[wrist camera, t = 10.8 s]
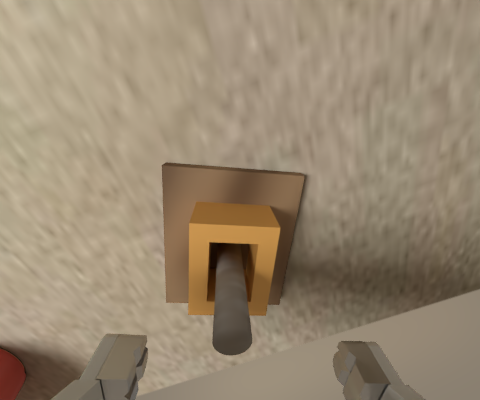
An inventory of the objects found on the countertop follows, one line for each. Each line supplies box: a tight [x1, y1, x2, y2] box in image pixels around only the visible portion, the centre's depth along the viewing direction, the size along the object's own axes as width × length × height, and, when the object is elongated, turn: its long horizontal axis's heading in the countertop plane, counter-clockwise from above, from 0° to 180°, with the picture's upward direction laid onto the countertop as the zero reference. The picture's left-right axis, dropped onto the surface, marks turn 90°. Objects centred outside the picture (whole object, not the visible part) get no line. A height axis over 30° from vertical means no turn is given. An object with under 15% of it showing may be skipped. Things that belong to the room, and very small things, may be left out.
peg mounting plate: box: [162, 163, 305, 355], centre depth 14 cm, size 10×12×9 cm
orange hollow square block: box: [188, 202, 281, 316], centre depth 16 cm, size 5×7×4 cm
